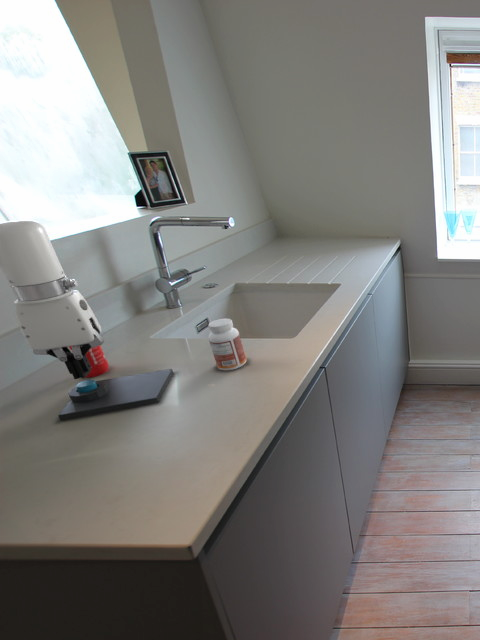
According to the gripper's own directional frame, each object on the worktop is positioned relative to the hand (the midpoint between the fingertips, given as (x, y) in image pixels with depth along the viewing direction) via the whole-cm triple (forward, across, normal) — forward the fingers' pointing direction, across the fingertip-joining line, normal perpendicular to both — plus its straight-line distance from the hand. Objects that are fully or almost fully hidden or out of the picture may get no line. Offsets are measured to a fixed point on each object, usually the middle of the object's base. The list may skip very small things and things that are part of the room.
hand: (83, 375), depth 90 cm
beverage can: (+6, +4, -14) cm, 16 cm away
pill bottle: (+6, -25, -6) cm, 26 cm away
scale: (+6, -5, 0) cm, 8 cm away
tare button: (+3, 0, 0) cm, 3 cm away
